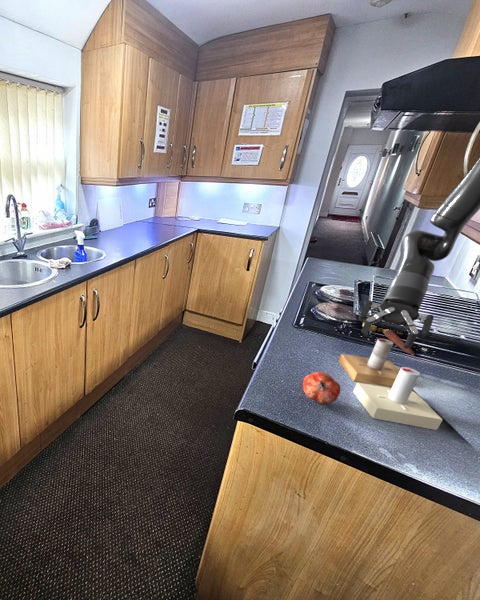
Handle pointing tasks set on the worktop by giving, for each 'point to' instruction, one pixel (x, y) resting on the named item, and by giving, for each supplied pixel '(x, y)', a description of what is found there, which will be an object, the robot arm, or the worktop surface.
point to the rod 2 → (403, 385)
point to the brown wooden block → (369, 371)
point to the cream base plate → (396, 407)
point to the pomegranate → (321, 388)
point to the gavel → (392, 337)
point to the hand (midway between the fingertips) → (384, 341)
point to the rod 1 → (380, 354)
